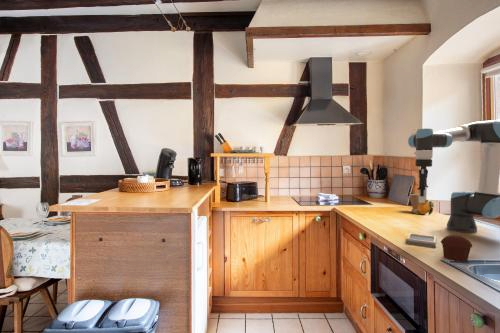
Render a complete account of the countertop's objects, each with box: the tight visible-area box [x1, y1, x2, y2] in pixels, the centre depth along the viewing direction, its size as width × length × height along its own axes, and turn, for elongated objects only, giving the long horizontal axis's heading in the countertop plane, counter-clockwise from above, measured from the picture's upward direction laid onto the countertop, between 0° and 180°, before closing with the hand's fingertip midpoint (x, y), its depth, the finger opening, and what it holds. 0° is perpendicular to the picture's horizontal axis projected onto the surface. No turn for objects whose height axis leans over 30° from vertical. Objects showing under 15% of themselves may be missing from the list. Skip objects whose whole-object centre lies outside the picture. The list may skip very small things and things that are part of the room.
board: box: [405, 232, 437, 249], centre depth 161 cm, size 13×15×2 cm
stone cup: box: [408, 193, 420, 215], centre depth 236 cm, size 15×12×15 cm
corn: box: [417, 198, 435, 216], centre depth 158 cm, size 7×8×20 cm
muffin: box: [440, 234, 473, 263], centre depth 136 cm, size 12×11×10 cm
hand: (422, 201), depth 160 cm, fingers closed on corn, 11 cm apart
